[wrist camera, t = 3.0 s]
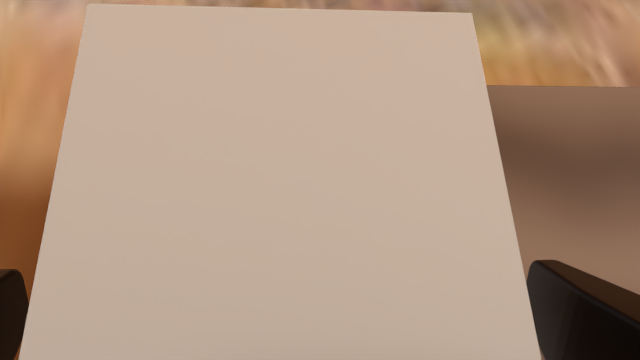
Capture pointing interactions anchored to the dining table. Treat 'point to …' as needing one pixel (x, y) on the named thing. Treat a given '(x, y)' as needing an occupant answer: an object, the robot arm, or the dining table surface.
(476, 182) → the cream matte box
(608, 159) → the board
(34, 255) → the dining table surface
